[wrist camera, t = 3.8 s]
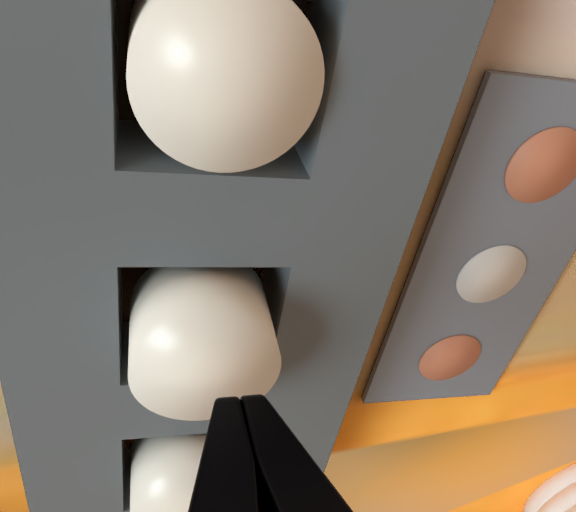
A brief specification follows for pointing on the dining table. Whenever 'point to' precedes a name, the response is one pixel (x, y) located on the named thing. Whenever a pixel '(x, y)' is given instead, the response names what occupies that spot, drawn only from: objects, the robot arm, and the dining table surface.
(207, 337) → the button middle
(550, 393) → the dining table surface
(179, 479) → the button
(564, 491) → the grey stacked discs
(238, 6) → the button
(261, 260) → the button board
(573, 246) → the pattern card
